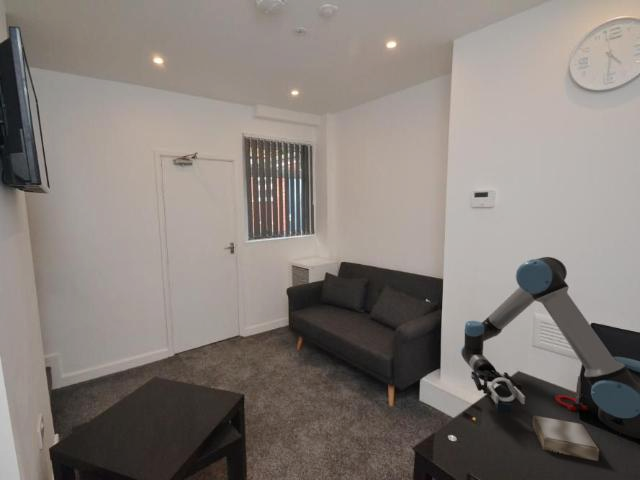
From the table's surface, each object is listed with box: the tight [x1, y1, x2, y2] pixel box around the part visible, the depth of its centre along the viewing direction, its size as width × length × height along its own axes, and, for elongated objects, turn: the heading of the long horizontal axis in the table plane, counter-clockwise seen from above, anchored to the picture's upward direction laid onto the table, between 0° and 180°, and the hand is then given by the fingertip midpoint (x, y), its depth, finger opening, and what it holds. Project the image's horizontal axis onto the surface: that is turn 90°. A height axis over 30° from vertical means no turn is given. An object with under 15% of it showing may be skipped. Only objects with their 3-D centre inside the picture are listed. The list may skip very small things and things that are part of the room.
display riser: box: [532, 415, 600, 462], centre depth 104 cm, size 14×12×4 cm
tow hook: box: [554, 376, 589, 412], centre depth 124 cm, size 8×13×9 cm
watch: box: [490, 377, 517, 415], centre depth 116 cm, size 6×8×11 cm
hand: (510, 399), depth 111 cm, fingers closed on watch, 8 cm apart
